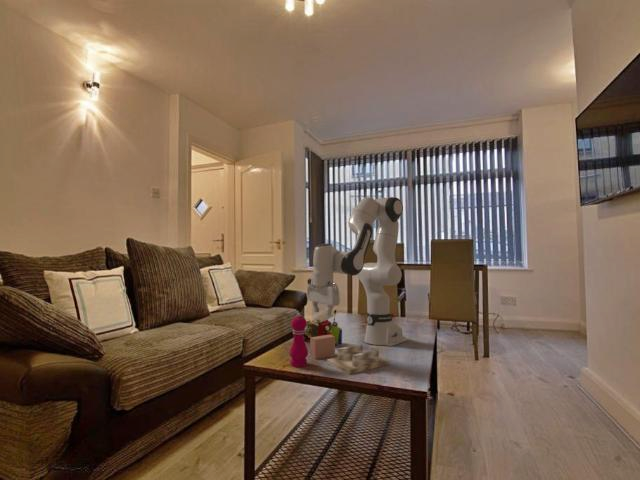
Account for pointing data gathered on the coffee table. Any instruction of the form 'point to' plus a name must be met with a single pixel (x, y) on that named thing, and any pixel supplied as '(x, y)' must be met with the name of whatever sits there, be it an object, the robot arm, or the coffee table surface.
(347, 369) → the bookend rack
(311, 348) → the upright pink tile
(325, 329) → the robot toy
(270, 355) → the coffee table surface
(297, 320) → the pepper mill
